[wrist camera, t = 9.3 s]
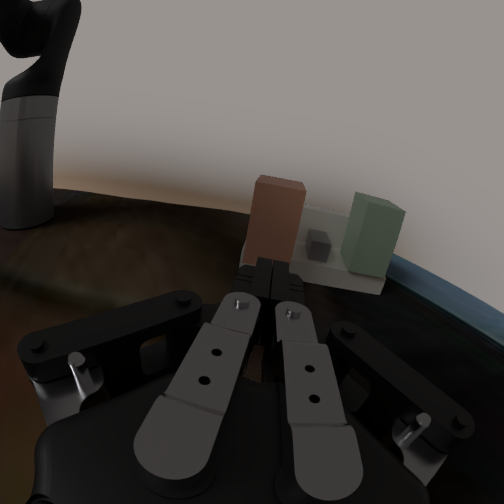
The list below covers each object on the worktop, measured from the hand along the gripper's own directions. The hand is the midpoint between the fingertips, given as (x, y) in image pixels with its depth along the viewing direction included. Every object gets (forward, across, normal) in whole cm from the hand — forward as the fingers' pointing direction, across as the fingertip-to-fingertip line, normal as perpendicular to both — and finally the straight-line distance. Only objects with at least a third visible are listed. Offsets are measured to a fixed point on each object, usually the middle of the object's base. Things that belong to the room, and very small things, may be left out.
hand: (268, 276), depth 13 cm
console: (+16, -5, +6) cm, 18 cm away
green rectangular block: (+15, -10, +4) cm, 18 cm away
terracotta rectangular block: (+12, 0, +4) cm, 13 cm away
